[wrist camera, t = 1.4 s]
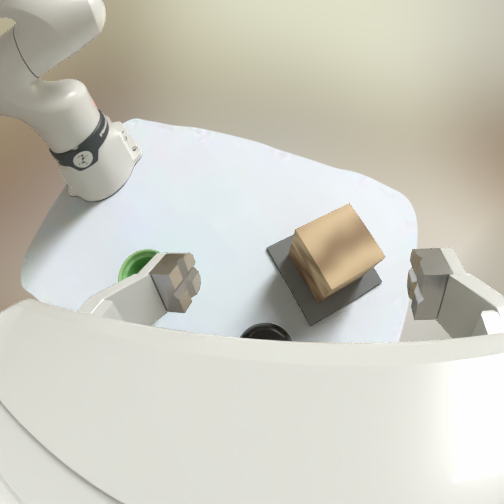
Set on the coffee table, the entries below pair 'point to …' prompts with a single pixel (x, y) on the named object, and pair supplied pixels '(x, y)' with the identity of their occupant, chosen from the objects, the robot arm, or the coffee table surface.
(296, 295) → the mat
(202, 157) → the coffee table surface
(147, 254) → the ramekin
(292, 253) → the tower base
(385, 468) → the robot arm
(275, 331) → the supplement bottle
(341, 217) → the tower top
